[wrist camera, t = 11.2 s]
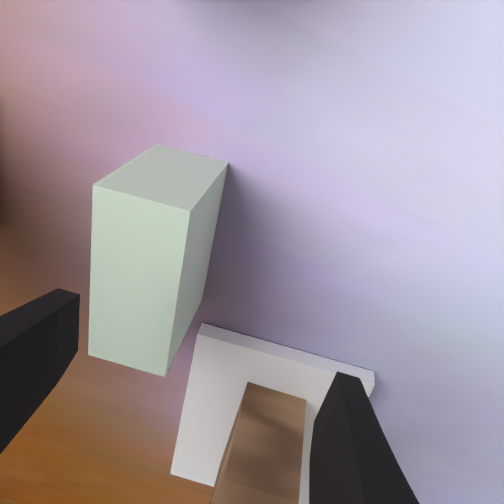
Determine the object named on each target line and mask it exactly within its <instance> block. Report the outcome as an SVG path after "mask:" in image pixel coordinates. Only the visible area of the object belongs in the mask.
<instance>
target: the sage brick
mask: <svg viewBox="0 0 504 504" xmlns="http://www.w3.org/2000/svg"><path fill="white" fill-rule="evenodd" d="M227 167H228V163H227V162H224V161H220V160H216V159H212V158H208V157H205V156H201V155H197V154H193V153H190V152H186V151H182V150H178V149H174V148H171V147H167V146H163V145H159V144H155V145H153V146H152V147H150V148H148V149H147V150H145V151H144V152H142V153H141V154H139V155H138V156H136V157H135V158H133V159H132V160H130V161H128V162H127V163H125V164H124V165H122V166H121V167H119V168H118V169H116V170H115V171H113V172H112V173H110V174H108V175H107V176H105V177H104V178H102V179H101V180H99V181H98V182H96V183H95V184H93V194H92V231H91V268H90V305H89V342H88V355H90V356H94V357H97V358H101V359H104V360H108V361H111V362H114V363H118V364H121V365H125V366H128V367H132V368H135V369H139V370H142V371H145V372H149V373H152V374H156V375H159V376H163V377H165V376H166V374H167V372H168V370H169V368H170V366H171V364H172V362H173V359H174V357H175V355H176V353H177V351H178V349H179V347H180V345H181V343H182V341H183V339H184V337H185V335H186V333H187V330H188V328H189V326H190V324H191V322H192V320H193V318H194V316H195V314H196V312H197V310H198V308H199V306H200V304H201V301H202V298H203V293H204V288H205V283H206V277H207V272H208V267H209V262H210V256H211V251H212V246H213V241H214V235H215V230H216V225H217V220H218V214H219V209H220V204H221V199H222V194H223V188H224V183H225V178H226V173H227Z"/></svg>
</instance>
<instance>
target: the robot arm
mask: <svg viewBox="0 0 504 504" xmlns="http://www.w3.org/2000/svg"><path fill="white" fill-rule="evenodd" d="M79 303H80V295H79V294H76V293H73V292H69V291H66V290H63V289H59V288H58V289H56V290H54V291H52V292H49V293H47V294H45V295H43V296H41V297H39V298H37V299H35V300H33V301H31V302H29V303H27V304H25V305H23V306H20V307H18V308H16V309H14V310H12V311H10V312H8V313H6V314H4V315H1V316H0V454H1V453H2V452H3V450H4V449H5V448H6V447H7V445H8V444H9V443H10V442H11V440H12V439H13V438H14V437H15V435H16V434H17V433H18V432H19V431H20V429H21V428H22V427H23V426H24V424H25V423H26V422H27V421H28V419H29V418H30V417H31V416H32V414H33V413H34V412H35V411H36V409H37V408H38V407H39V406H40V405H41V403H42V402H43V401H44V399H45V398H46V397H47V396H48V394H49V393H50V392H51V391H52V389H53V388H54V387H55V386H56V384H57V383H58V382H59V380H60V378H61V377H62V375H63V374H64V372H65V371H66V369H67V367H68V366H69V364H70V362H71V361H72V359H73V357H74V356H75V354H76V352H77V351H78V334H79ZM309 504H419V502H418V500H417V498H416V497H415V495H414V493H413V491H412V489H411V487H410V486H409V484H408V482H407V480H406V478H405V476H404V474H403V472H402V470H401V468H400V467H399V465H398V463H397V461H396V459H395V456H394V454H393V452H392V450H391V448H390V446H389V444H388V442H387V440H386V438H385V435H384V433H383V431H382V429H381V427H380V424H379V422H378V420H377V417H376V415H375V413H374V410H373V408H372V406H371V403H370V401H369V398H368V396H367V394H366V391H365V389H364V386H363V384H362V382H361V380H360V378H358V377H355V376H352V375H348V374H345V373H342V372H338V371H337V373H336V375H335V377H334V379H333V381H332V383H331V386H330V388H329V390H328V392H327V394H326V396H325V399H324V401H323V403H322V405H321V407H320V409H319V412H318V414H317V416H316V418H315V420H314V425H313V433H312V441H311V450H310V459H309Z"/></svg>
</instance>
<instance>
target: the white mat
mask: <svg viewBox="0 0 504 504" xmlns="http://www.w3.org/2000/svg"><path fill="white" fill-rule="evenodd" d="M337 371H338V372H342V373H345V374H348V375H352V376H355V377H358V378H360V380H361V382H362V384H363V386H364V389H365V391H366V394H367V396H368V398H369V396H370V394H371V392H372V390H373V388H374V386H375V378H374V371H370V370H367V369H363V368H360V367H356V366H353V365H349V364H346V363H342V362H339V361H335V360H332V359H328V358H325V357H321V356H318V355H314V354H311V353H307V352H304V351H300V350H296V349H293V348H289V347H286V346H282V345H279V344H275V343H272V342H268V341H265V340H261V339H258V338H254V337H251V336H247V335H244V334H240V333H237V332H233V331H230V330H226V329H223V328H219V327H215V326H212V325H208V324H205V323H202V324H201V326H200V329H199V331H198V333H197V337H196V343H195V348H194V353H193V358H192V363H191V369H190V374H189V379H188V384H187V389H186V394H185V400H184V405H183V410H182V415H181V420H180V426H179V431H178V436H177V441H176V446H175V451H174V457H173V462H172V467H171V472H170V474H173V475H176V476H179V477H183V478H186V479H189V480H193V481H196V482H199V483H202V484H206V485H209V486H212V487H214V485H215V481H216V477H217V473H218V469H219V466H220V462H221V459H222V456H223V453H224V450H225V447H226V445H227V442H228V439H229V436H230V433H231V430H232V427H233V424H234V421H235V418H236V415H237V412H238V409H239V406H240V403H241V400H242V397H243V394H244V391H245V388H246V385H247V382H251V383H254V384H257V385H260V386H263V387H267V388H270V389H273V390H276V391H280V392H283V393H286V394H289V395H292V396H296V397H299V398H302V399H305V400H306V411H305V425H304V438H303V452H302V465H301V479H300V492H299V503H298V504H309V459H310V450H311V441H312V433H313V425H314V420H315V418H316V416H317V414H318V412H319V409H320V407H321V405H322V403H323V401H324V399H325V396H326V394H327V392H328V390H329V388H330V386H331V383H332V381H333V379H334V377H335V375H336V373H337Z"/></svg>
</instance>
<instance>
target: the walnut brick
mask: <svg viewBox="0 0 504 504" xmlns="http://www.w3.org/2000/svg"><path fill="white" fill-rule="evenodd" d="M305 411H306V400H305V399H302V398H299V397H296V396H292V395H289V394H286V393H283V392H280V391H276V390H273V389H270V388H267V387H263V386H260V385H257V384H254V383H251V382H247V385H246V388H245V391H244V394H243V397H242V400H241V403H240V406H239V409H238V412H237V415H236V418H235V421H234V424H233V427H232V430H231V433H230V436H229V439H228V442H227V445H226V447H225V450H224V453H223V456H222V459H221V462H220V466H219V469H218V473H217V477H216V481H215V485H214V489H213V492H212V496H211V500H210V504H298V503H299V492H300V479H301V465H302V452H303V438H304V425H305Z"/></svg>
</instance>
